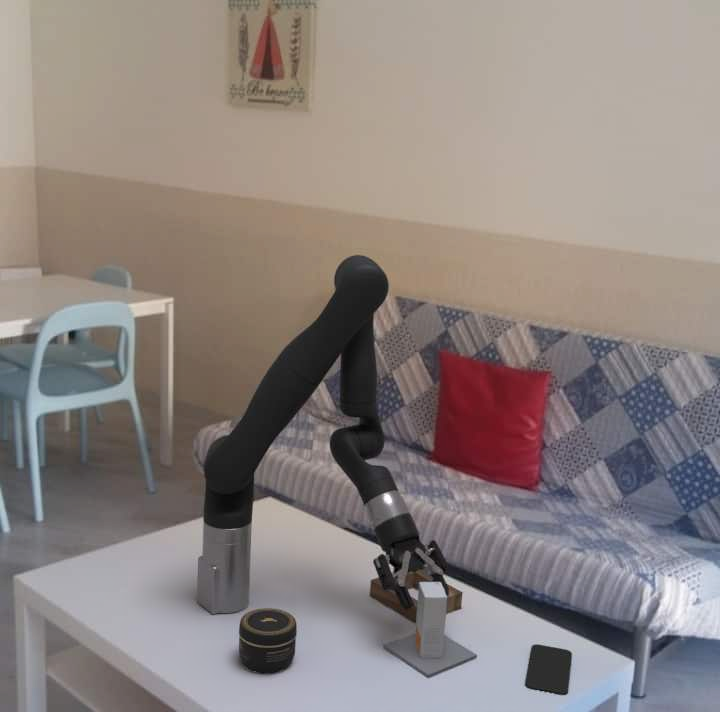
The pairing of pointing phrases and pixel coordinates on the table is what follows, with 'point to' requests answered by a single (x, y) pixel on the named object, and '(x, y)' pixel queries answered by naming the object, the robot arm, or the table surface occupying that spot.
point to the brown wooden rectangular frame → (411, 581)
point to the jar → (267, 640)
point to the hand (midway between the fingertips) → (427, 602)
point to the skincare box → (430, 619)
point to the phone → (549, 669)
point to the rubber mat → (430, 666)
